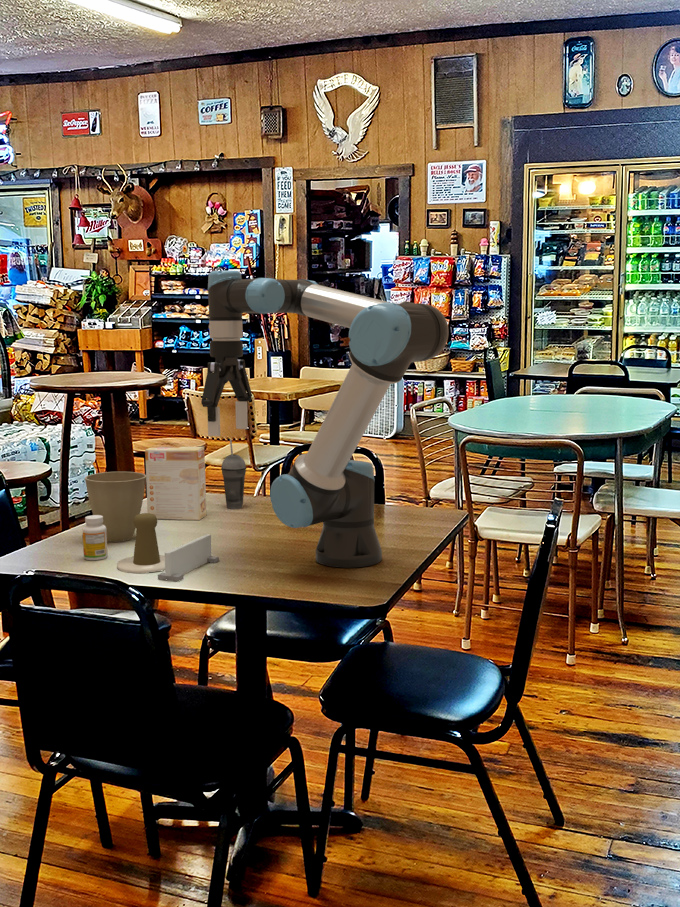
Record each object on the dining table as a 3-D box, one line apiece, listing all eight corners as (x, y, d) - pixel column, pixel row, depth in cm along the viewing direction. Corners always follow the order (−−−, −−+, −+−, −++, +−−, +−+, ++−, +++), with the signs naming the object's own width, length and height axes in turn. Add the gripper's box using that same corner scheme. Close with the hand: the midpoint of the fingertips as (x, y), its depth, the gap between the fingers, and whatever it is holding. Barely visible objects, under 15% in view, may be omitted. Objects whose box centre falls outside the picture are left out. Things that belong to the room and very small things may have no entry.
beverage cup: (231, 511, 274) (230, 441, 271) (217, 507, 280) (215, 439, 277) (252, 507, 279) (250, 439, 276) (237, 504, 284) (235, 436, 281)
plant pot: (98, 548, 232) (95, 483, 230) (80, 536, 245) (77, 474, 242) (157, 540, 240) (155, 477, 238) (136, 529, 252) (134, 469, 250)
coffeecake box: (207, 515, 269) (205, 446, 266) (199, 520, 262) (197, 449, 259) (155, 514, 271) (153, 445, 269) (147, 519, 264) (144, 449, 262)
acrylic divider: (219, 560, 220) (218, 535, 219) (178, 581, 203) (177, 554, 202) (199, 559, 222) (199, 533, 221) (157, 579, 205) (156, 552, 204)
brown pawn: (127, 563, 215) (125, 515, 214) (145, 557, 220) (143, 510, 219) (148, 566, 212) (146, 517, 211) (166, 560, 217) (164, 512, 216)
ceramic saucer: (186, 560, 220) (186, 557, 220) (156, 575, 208) (155, 571, 208) (137, 556, 225) (137, 552, 225) (105, 570, 213) (105, 566, 213)
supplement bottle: (89, 554, 227) (87, 514, 225) (111, 555, 226) (109, 514, 224) (79, 560, 221) (77, 518, 220) (102, 561, 221) (100, 519, 219)
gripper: (236, 338, 232) (238, 425, 235) (183, 341, 209) (186, 438, 212) (264, 338, 229) (266, 426, 232) (214, 341, 206) (216, 439, 209)
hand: (228, 432), depth 222 cm, fingers open, 13 cm apart
